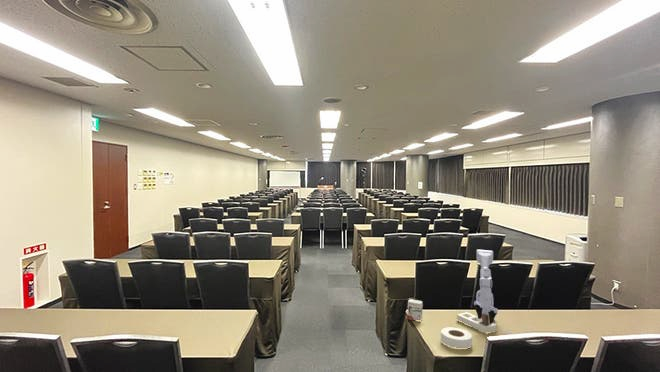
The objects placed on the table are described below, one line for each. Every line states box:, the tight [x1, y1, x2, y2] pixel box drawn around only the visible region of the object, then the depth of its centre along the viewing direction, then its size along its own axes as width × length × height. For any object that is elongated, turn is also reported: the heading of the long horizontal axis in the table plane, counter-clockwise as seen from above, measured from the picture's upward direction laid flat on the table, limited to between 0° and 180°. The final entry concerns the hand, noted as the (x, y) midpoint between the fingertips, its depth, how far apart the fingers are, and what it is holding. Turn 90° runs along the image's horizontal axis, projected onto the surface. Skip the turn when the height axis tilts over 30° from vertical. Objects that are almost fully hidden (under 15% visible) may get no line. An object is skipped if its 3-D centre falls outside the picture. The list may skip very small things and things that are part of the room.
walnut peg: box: [482, 314, 489, 326], centre depth 192 cm, size 4×4×8 cm
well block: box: [456, 312, 498, 333], centre depth 198 cm, size 9×21×4 cm, turn 27°
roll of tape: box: [440, 326, 473, 348], centre depth 176 cm, size 16×16×6 cm
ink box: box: [407, 298, 424, 321], centre depth 207 cm, size 9×5×12 cm, turn 62°
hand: (485, 320), depth 192 cm, fingers open, 7 cm apart
